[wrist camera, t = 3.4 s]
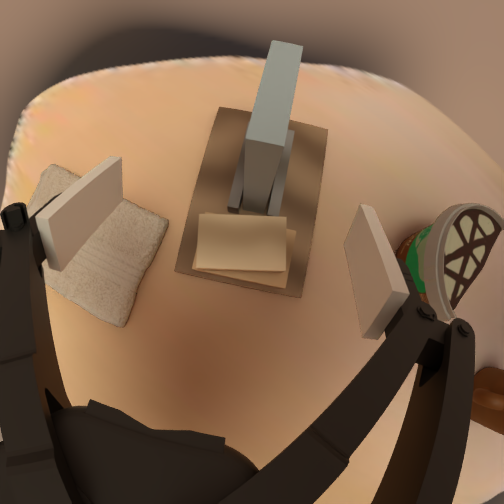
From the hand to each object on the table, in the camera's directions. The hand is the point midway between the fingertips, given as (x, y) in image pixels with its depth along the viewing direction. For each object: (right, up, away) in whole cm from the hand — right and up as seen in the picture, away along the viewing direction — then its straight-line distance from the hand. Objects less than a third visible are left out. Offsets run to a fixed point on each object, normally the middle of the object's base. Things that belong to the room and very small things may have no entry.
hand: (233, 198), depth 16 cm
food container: (+18, -3, +14) cm, 24 cm away
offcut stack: (0, -3, +12) cm, 13 cm away
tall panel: (+2, +5, +13) cm, 14 cm away
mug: (+29, -21, +12) cm, 38 cm away
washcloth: (-17, -1, +14) cm, 22 cm away
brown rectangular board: (+1, +3, +14) cm, 14 cm away
